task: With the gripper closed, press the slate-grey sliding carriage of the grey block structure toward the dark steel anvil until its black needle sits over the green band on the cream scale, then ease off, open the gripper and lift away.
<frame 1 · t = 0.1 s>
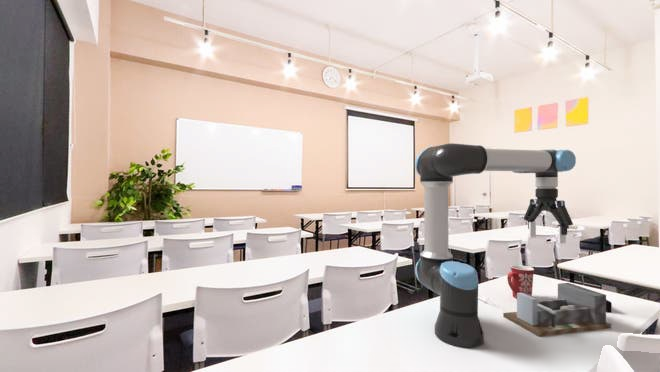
hand: (546, 240, 127), 28 cm above the table, tool pointing down, fingers open, 13 cm apart
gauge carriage: (538, 309, 110), point 6 cm above the table, slide at 0.0 cm
mobile phone: (594, 306, 130), on the table
stylus pen: (490, 305, 131), on the table
mug: (518, 298, 139), on the table
grey block structure: (555, 322, 114), on the table
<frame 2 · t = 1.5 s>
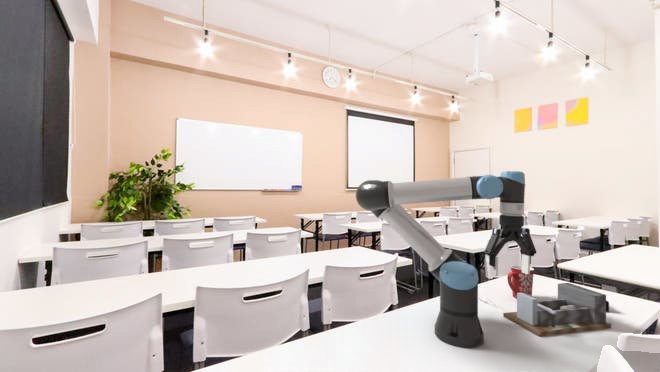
hand: (509, 274, 111), 19 cm above the table, tool pointing down, fingers open, 13 cm apart
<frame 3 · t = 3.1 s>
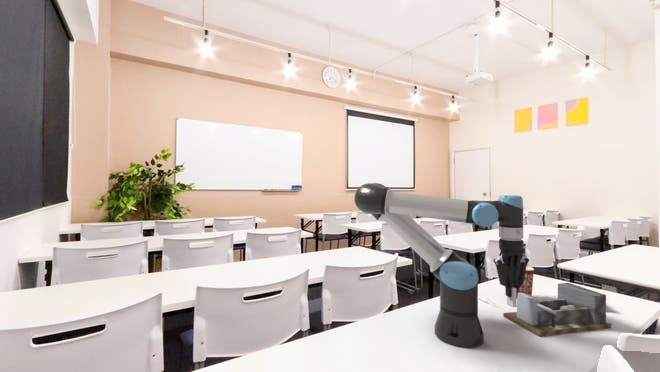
hand: (511, 305, 110), 8 cm above the table, tool pointing down, fingers closed
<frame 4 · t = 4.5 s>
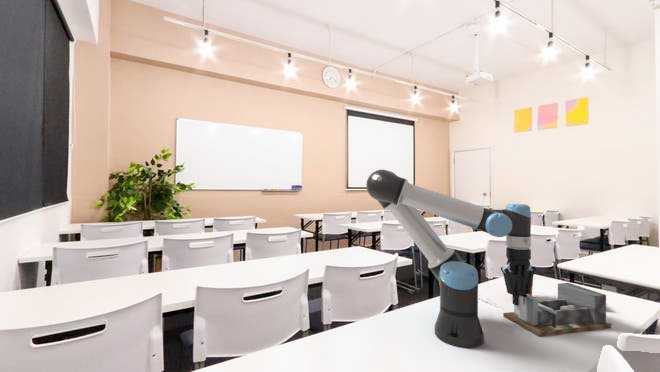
hand: (518, 313, 111), 5 cm above the table, tool pointing down, fingers closed
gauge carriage: (539, 309, 110), point 6 cm above the table, slide at 0.4 cm, touching gripper
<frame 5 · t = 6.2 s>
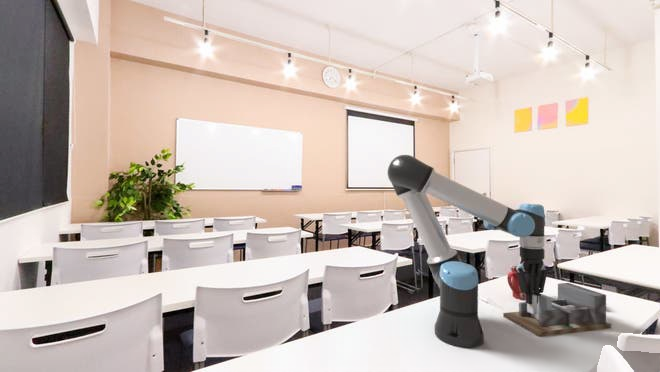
hand: (531, 312, 112), 4 cm above the table, tool pointing down, fingers closed
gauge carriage: (553, 308, 111), point 6 cm above the table, slide at 6.0 cm, touching gripper
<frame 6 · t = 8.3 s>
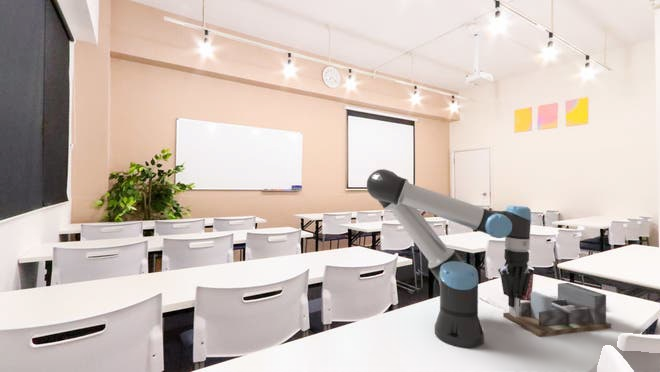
hand: (513, 315, 111), 4 cm above the table, tool pointing down, fingers closed
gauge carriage: (553, 308, 111), point 6 cm above the table, slide at 6.0 cm
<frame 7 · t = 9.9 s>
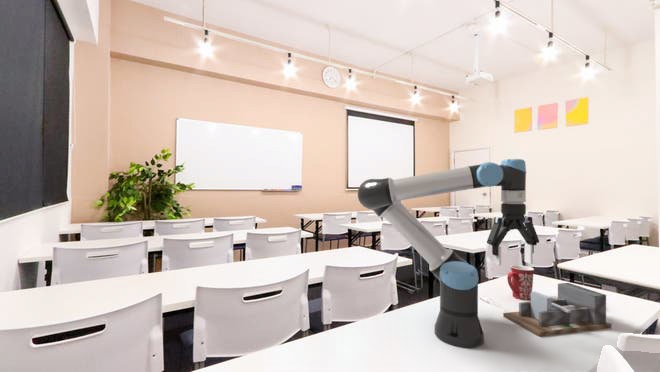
hand: (513, 263, 110), 22 cm above the table, tool pointing down, fingers open, 12 cm apart
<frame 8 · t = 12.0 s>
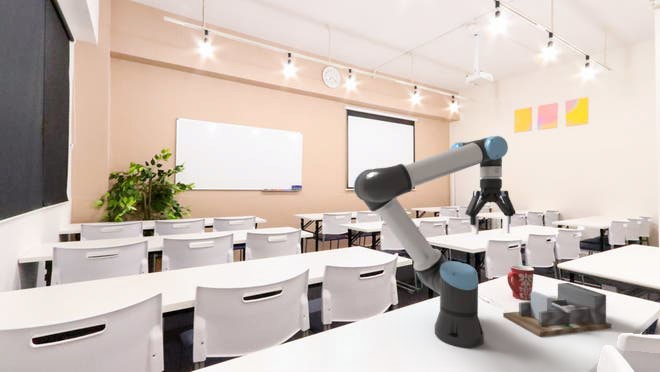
hand: (490, 233, 120), 32 cm above the table, tool pointing down, fingers open, 13 cm apart
at the end: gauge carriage slide at 6.0 cm; the gripper is holding nothing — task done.
